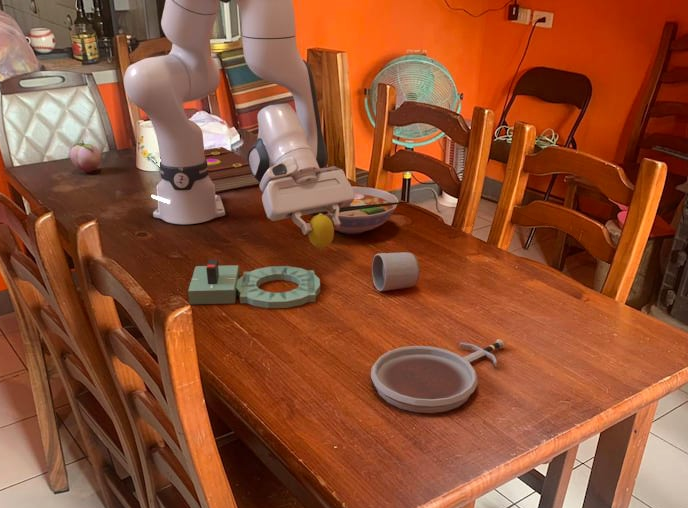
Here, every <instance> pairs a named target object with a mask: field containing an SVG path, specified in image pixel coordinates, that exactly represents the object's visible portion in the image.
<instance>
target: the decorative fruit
mask: <svg viewBox="0 0 688 508" xmlns="http://www.w3.org/2000/svg"><path fill="white" fill-rule="evenodd" d="M69 158H70V161H71V162H72V163H73V165H74V166H75V167H76V168H78V169H79V170H80V171H83V172H84V173H87V174H91V172H93V171H96V170H97V168H98V167H99V166H100V164H101V159H102V154H101V151H100V149H99V148H98V147H97V146H95V145H94V144H92V143H84V139H83V140H81V142H77V143H74V144H73V145H72V148H71V150H70V152H69Z"/></svg>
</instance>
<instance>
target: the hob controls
mask: <svg viewBox="0 0 688 508" xmlns="http://www.w3.org/2000/svg"><path fill="white" fill-rule="evenodd" d="M206 268H207V265H196V266H195V267H194V270H193V274H192V277H191V281H190V283H189V287H188V290H187V293H188V294H187V295H188V303H189V305H225V304H227V305H228V304H229V305H231V304H236V300H237V296H238V295H237V291H236V286H237V280H238V279H239V278H240V269H239V265H237V264H236V265H231V264H230V265H218V269H219V277H218V281H217V284H208V279H207V270H206Z"/></svg>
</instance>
